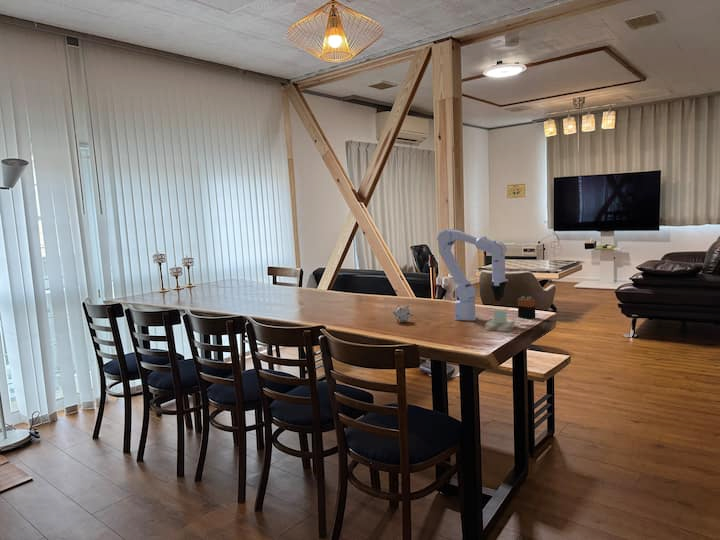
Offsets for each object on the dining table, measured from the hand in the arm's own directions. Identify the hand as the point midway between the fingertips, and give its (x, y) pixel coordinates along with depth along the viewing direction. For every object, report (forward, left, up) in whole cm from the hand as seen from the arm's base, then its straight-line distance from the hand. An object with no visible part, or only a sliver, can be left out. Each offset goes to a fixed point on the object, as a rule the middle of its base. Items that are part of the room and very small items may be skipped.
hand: (499, 299), depth 229 cm
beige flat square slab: (+2, -12, -11) cm, 16 cm away
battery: (+11, +11, -11) cm, 19 cm away
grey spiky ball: (-43, -10, -11) cm, 45 cm away
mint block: (+2, -12, -8) cm, 15 cm away
